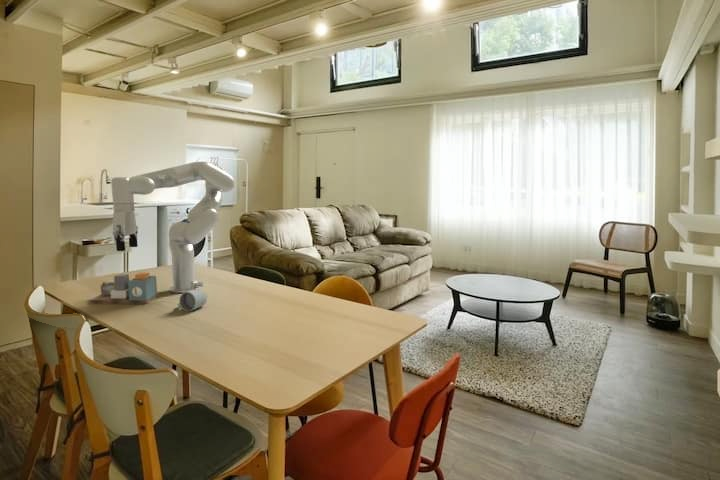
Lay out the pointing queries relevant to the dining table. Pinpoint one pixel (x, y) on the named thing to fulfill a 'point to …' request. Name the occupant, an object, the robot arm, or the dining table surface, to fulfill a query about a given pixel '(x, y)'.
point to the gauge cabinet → (142, 288)
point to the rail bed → (106, 298)
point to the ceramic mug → (192, 300)
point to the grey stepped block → (120, 286)
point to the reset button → (141, 276)
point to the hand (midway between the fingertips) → (127, 248)
